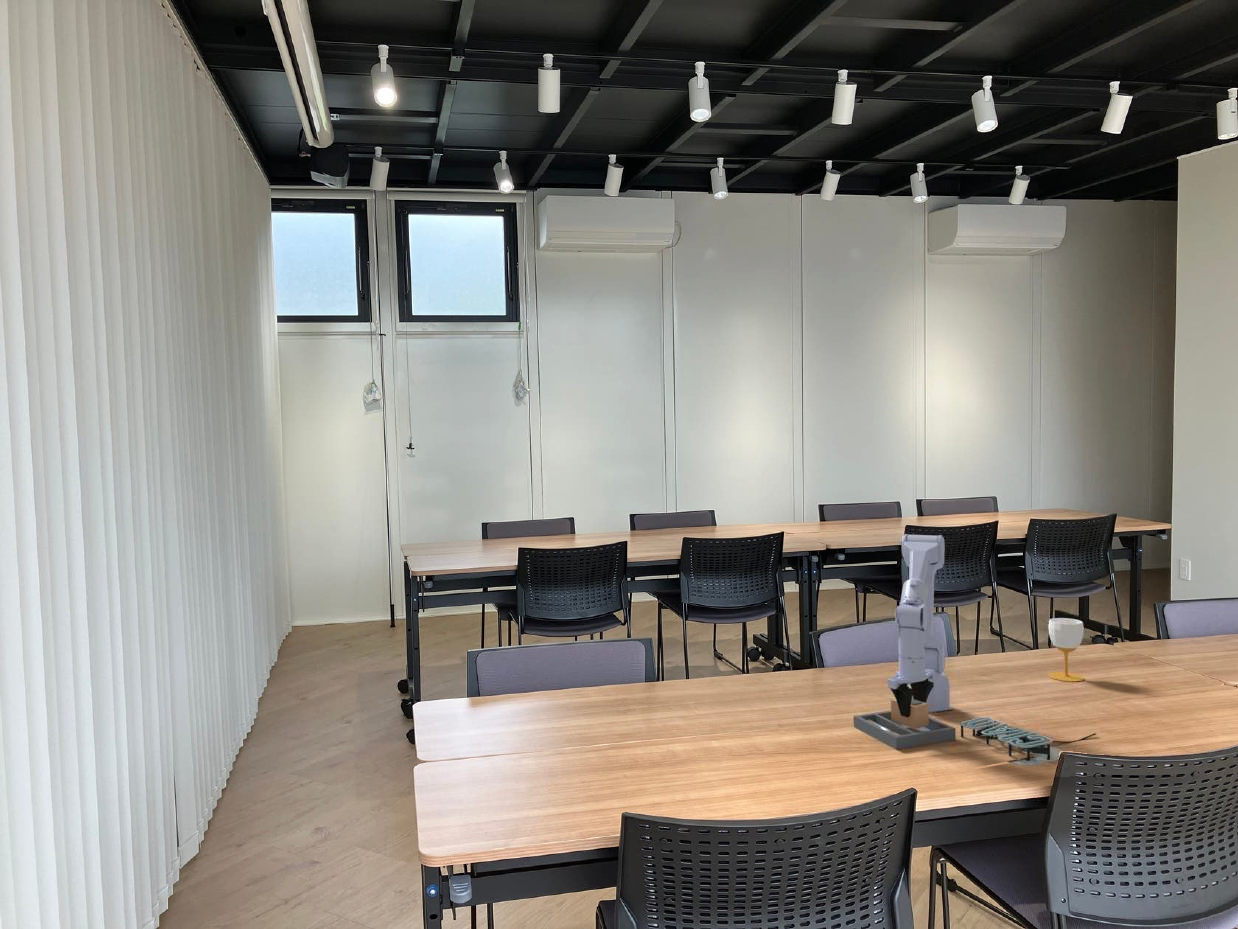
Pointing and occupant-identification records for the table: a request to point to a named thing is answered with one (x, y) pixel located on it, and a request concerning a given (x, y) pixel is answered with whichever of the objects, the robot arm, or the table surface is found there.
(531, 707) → the table surface
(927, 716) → the block
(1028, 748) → the neon sign
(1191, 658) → the table surface
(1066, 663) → the cup
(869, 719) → the rod
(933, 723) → the grey divided tray
